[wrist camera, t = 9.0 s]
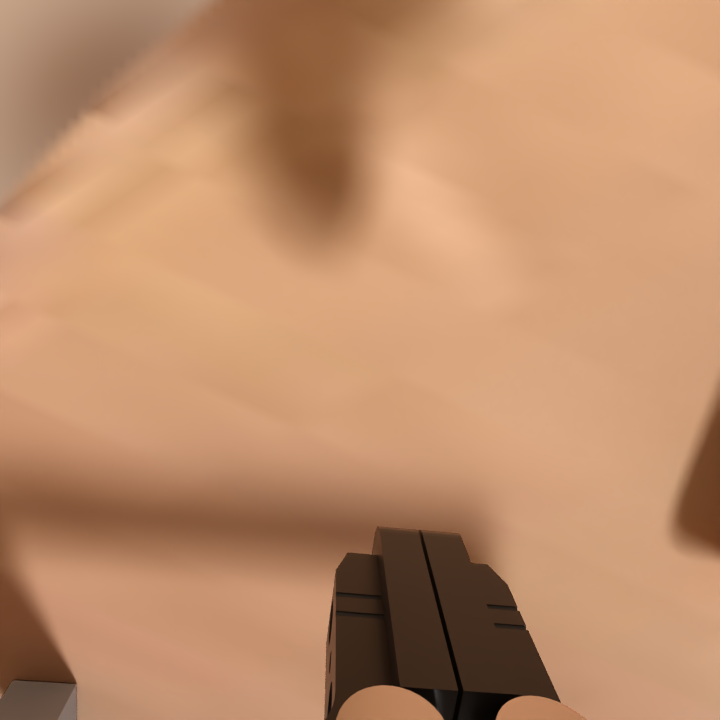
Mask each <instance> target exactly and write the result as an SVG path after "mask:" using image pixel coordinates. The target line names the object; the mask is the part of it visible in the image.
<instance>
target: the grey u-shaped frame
mask: <svg viewBox="0 0 720 720" xmlns="http://www.w3.org/2000/svg"><path fill="white" fill-rule="evenodd" d="M0 720H77V696H76V684H68V683H52V682H35V681H18V680H13V681H12V682H11V684H10V685H9V687H8V688H7V690H6V691H5V693H4V694H3V696H2V697H1V699H0Z"/></svg>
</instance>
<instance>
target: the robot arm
mask: <svg viewBox="0 0 720 720" xmlns="http://www.w3.org/2000/svg"><path fill="white" fill-rule="evenodd" d="M325 689H326V690H325V717H324V720H586V719H585V718H584V717H583V716H581V715H580V714H579V713H577V712H576V711H574V710H573V709H571V708H569V707H568V706H566V705H564V704H562V703H561V702H560V700H559V698H558V695H557V693H556V691H555V689H554V686H553V684H552V682H551V680H550V678H549V675H548V673H547V671H546V669H545V667H544V664H543V662H542V660H541V658H540V656H539V653H538V651H537V649H536V647H535V645H534V642H533V640H532V638H531V636H530V634H529V631H528V630H526V625H525V623H524V620H523V618H522V616H521V614H520V612H519V611H517V605H516V603H515V601H514V598H513V596H512V594H511V592H510V590H509V587H508V585H507V584H506V583H505V582H504V581H503V580H502V579H501V578H500V577H499V576H498V575H497V574H496V573H495V572H494V571H493V570H492V569H491V568H490V567H489V566H488V565H486V564H474V563H471V562H470V559H469V556H468V554H467V551H466V548H465V546H464V543H463V541H462V538H461V536H460V535H459V534H456V533H445V532H434V531H423V530H419V531H417V530H410V529H399V528H388V527H377V529H376V532H375V538H374V544H373V551H372V555H369V554H358V553H347V555H346V556H345V558H344V559H343V560H342V562H341V563H340V565H339V566H338V568H337V569H336V574H335V582H334V589H333V597H332V604H331V612H330V620H329V627H328V635H327V642H326V679H325Z"/></svg>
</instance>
